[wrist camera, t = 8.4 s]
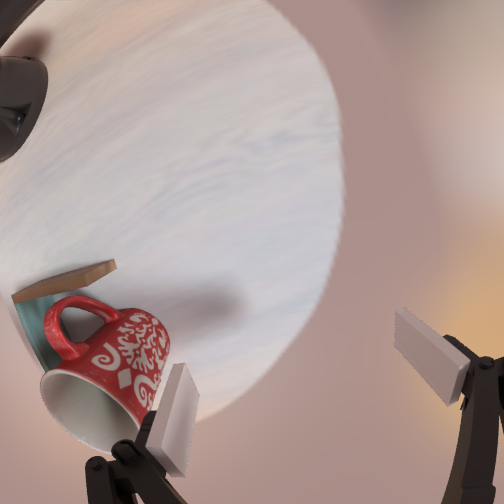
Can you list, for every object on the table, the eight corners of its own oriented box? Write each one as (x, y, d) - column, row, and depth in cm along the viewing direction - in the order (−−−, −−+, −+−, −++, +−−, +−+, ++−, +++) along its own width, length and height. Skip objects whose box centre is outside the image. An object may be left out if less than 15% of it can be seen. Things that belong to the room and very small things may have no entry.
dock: (41, 280, 25) (11, 295, 20) (113, 259, 25) (83, 274, 19) (87, 382, 28) (67, 408, 22) (161, 380, 28) (147, 412, 22)
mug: (192, 364, 28) (166, 458, 14) (126, 375, 28) (82, 453, 15) (146, 257, 25) (70, 307, 12) (80, 281, 25) (-1, 329, 12)
